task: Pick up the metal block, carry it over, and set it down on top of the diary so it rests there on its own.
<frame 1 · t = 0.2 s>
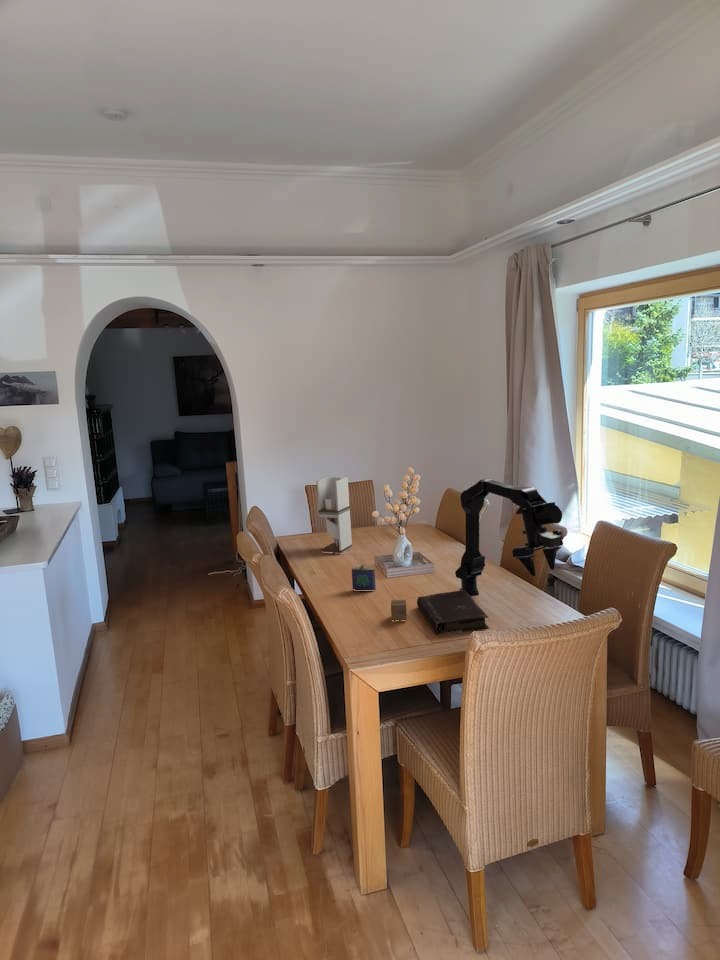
hand: (543, 572, 207), 15 cm above the table, tool pointing down, fingers open, 9 cm apart
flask: (364, 591, 247), on the table
metal block: (399, 619, 217), on the table
diary: (452, 619, 215), on the table
display case: (337, 551, 306), on the table
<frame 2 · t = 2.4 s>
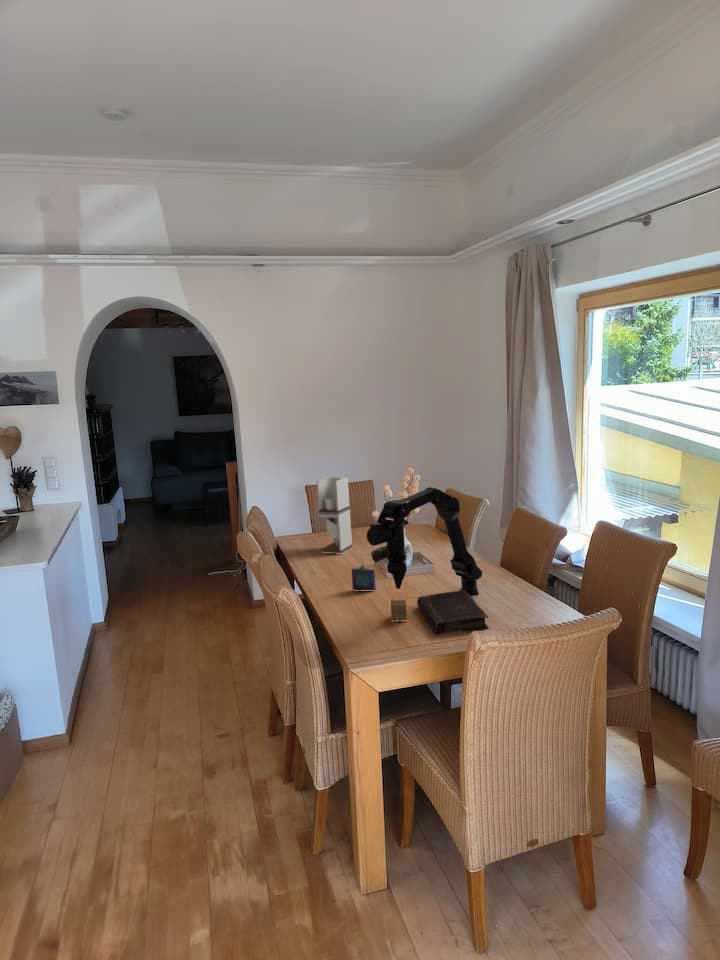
hand: (398, 584, 214), 13 cm above the table, tool pointing down, fingers open, 9 cm apart
nothing on the table moved.
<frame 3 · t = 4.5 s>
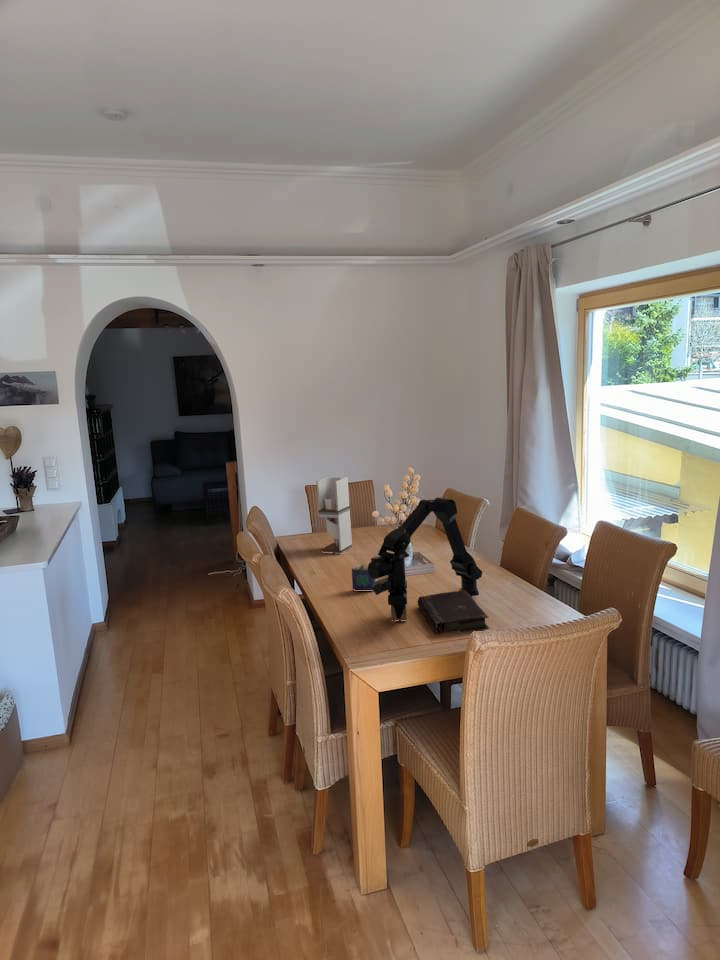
hand: (399, 615, 217), 1 cm above the table, tool pointing down, fingers closed on metal block, 5 cm apart
metal block: (399, 619, 217), on the table, touching gripper
everything else where it was.
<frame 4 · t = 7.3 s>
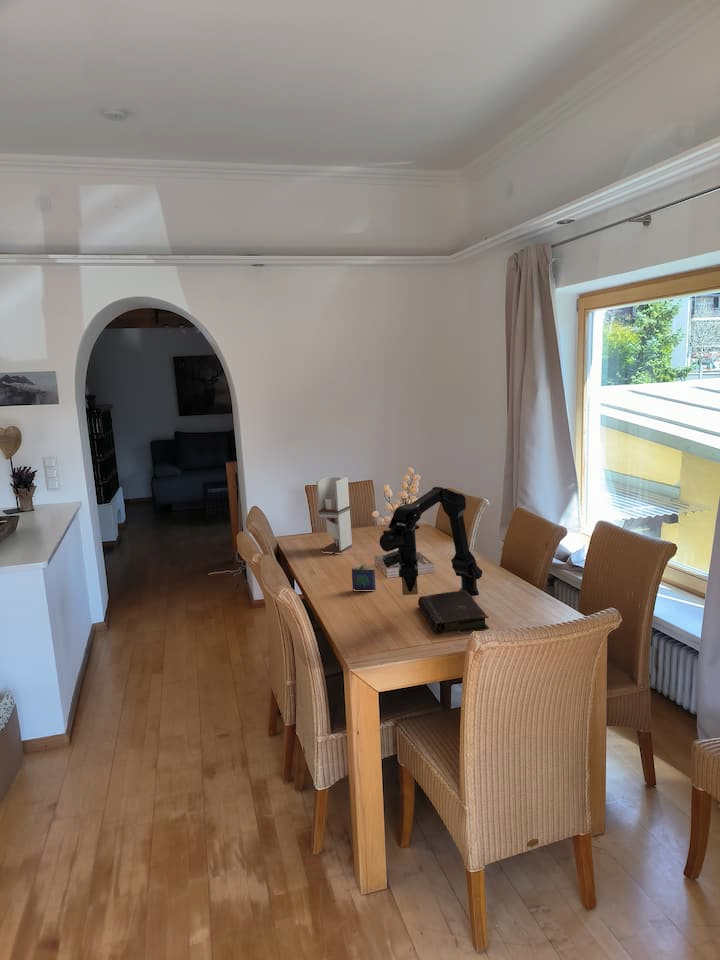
hand: (410, 588, 215), 11 cm above the table, tool pointing down, fingers closed on metal block, 5 cm apart
metal block: (410, 592, 215), point 9 cm above the table, touching gripper
everything else where it was.
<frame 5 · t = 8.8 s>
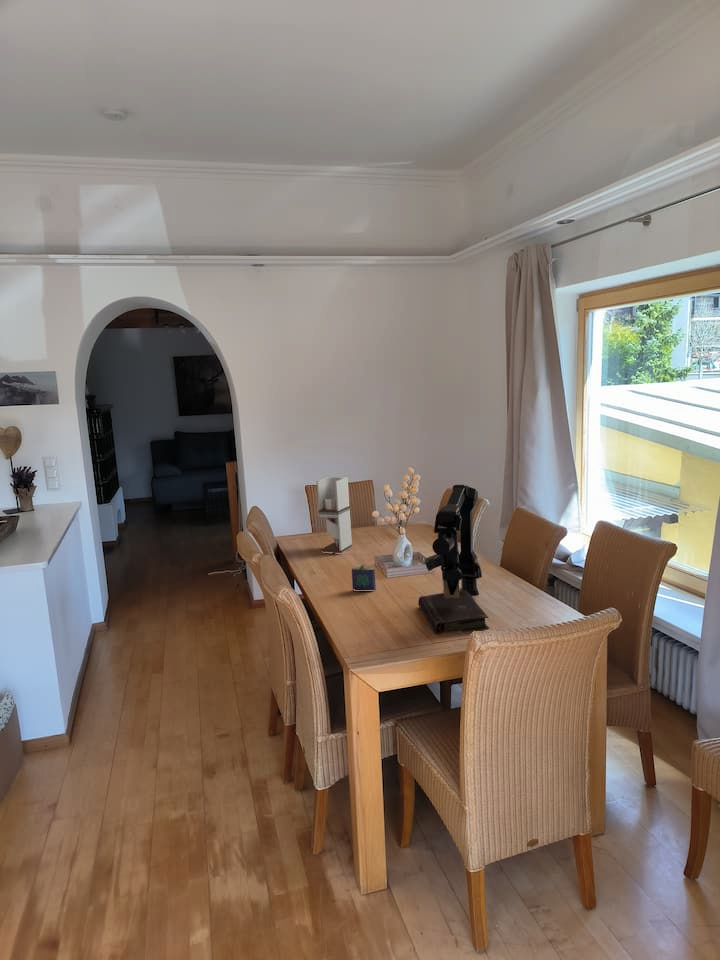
hand: (451, 591, 214), 9 cm above the table, tool pointing down, fingers closed on metal block, 5 cm apart
metal block: (451, 595, 214), point 8 cm above the table, touching gripper
everything else where it was.
when the fingers open (7 cm above the table, at t = 9.9 s): metal block drops 2 cm, resting on diary.
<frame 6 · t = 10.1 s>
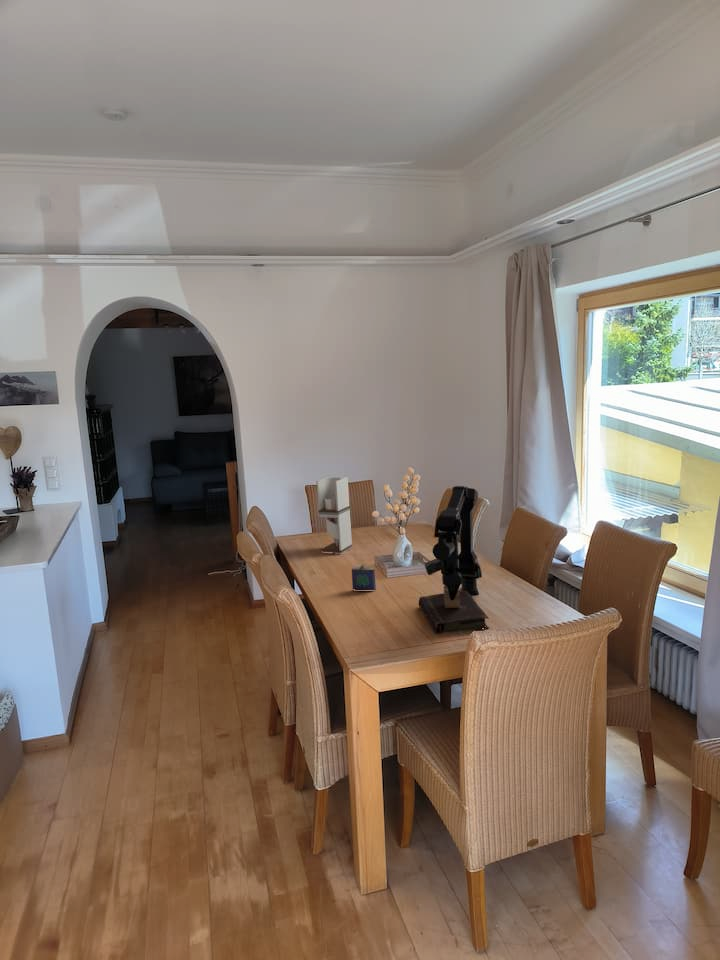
hand: (451, 596, 214), 7 cm above the table, tool pointing down, fingers open, 7 cm apart
metal block: (452, 604, 215), point 4 cm above the table, touching diary
diary: (453, 619, 215), on the table, touching metal block
everything else where it was.
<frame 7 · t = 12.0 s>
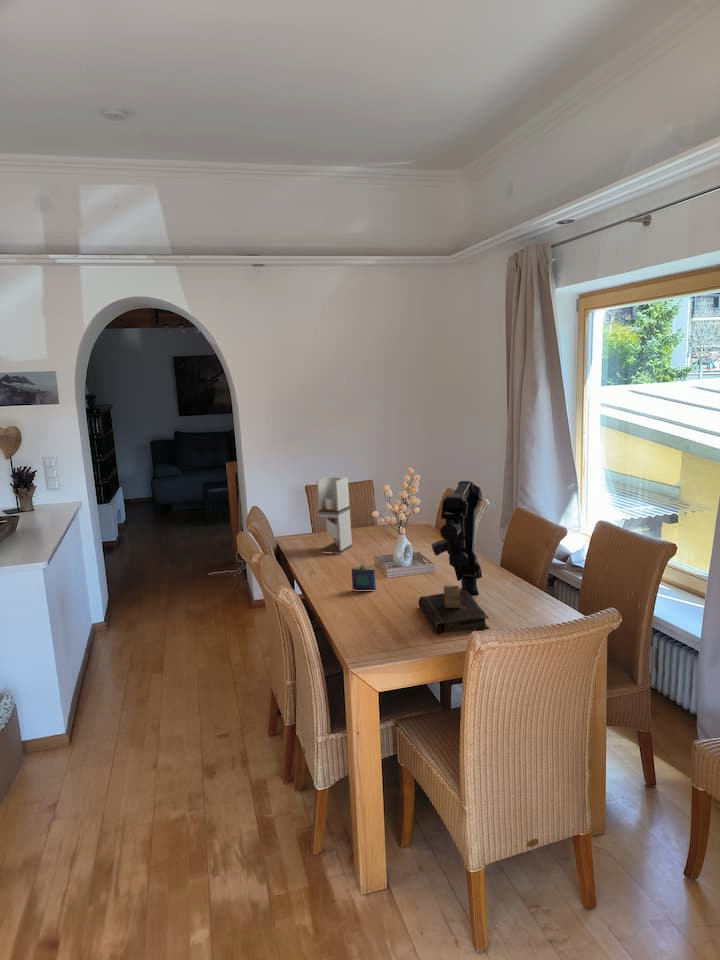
hand: (457, 575, 220), 12 cm above the table, tool pointing down, fingers open, 9 cm apart
nothing on the table moved.
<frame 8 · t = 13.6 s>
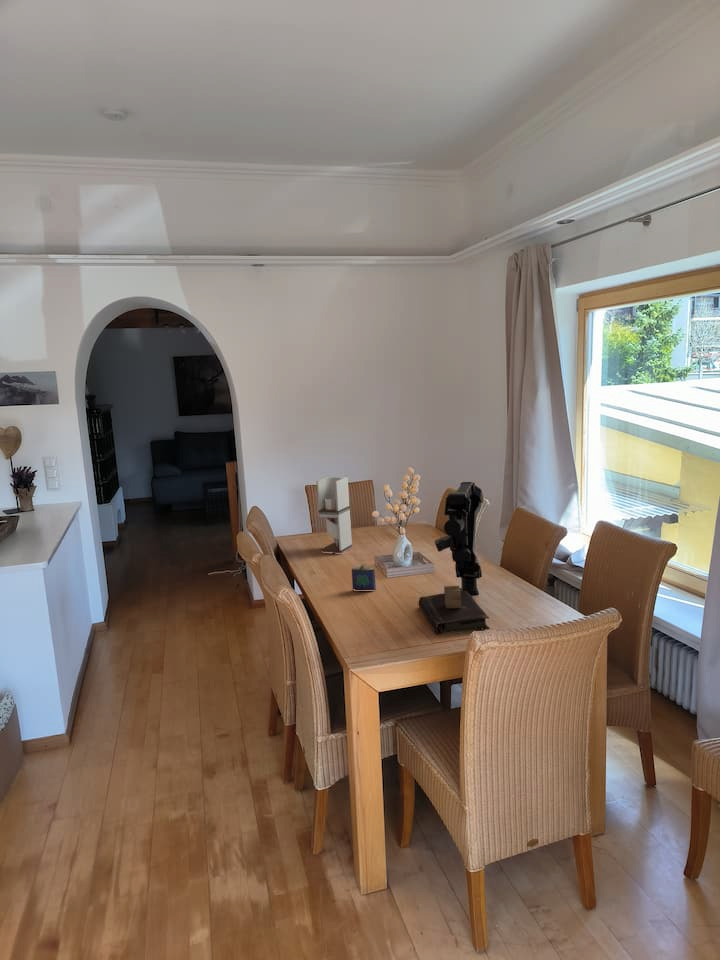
hand: (460, 572, 223), 13 cm above the table, tool pointing down, fingers open, 9 cm apart
nothing on the table moved.
at the end: metal block inside the target area on the diary (0.2 cm from its centre), point 5.2 cm above the diary's base; metal block tilted 0°; the gripper is holding nothing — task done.
